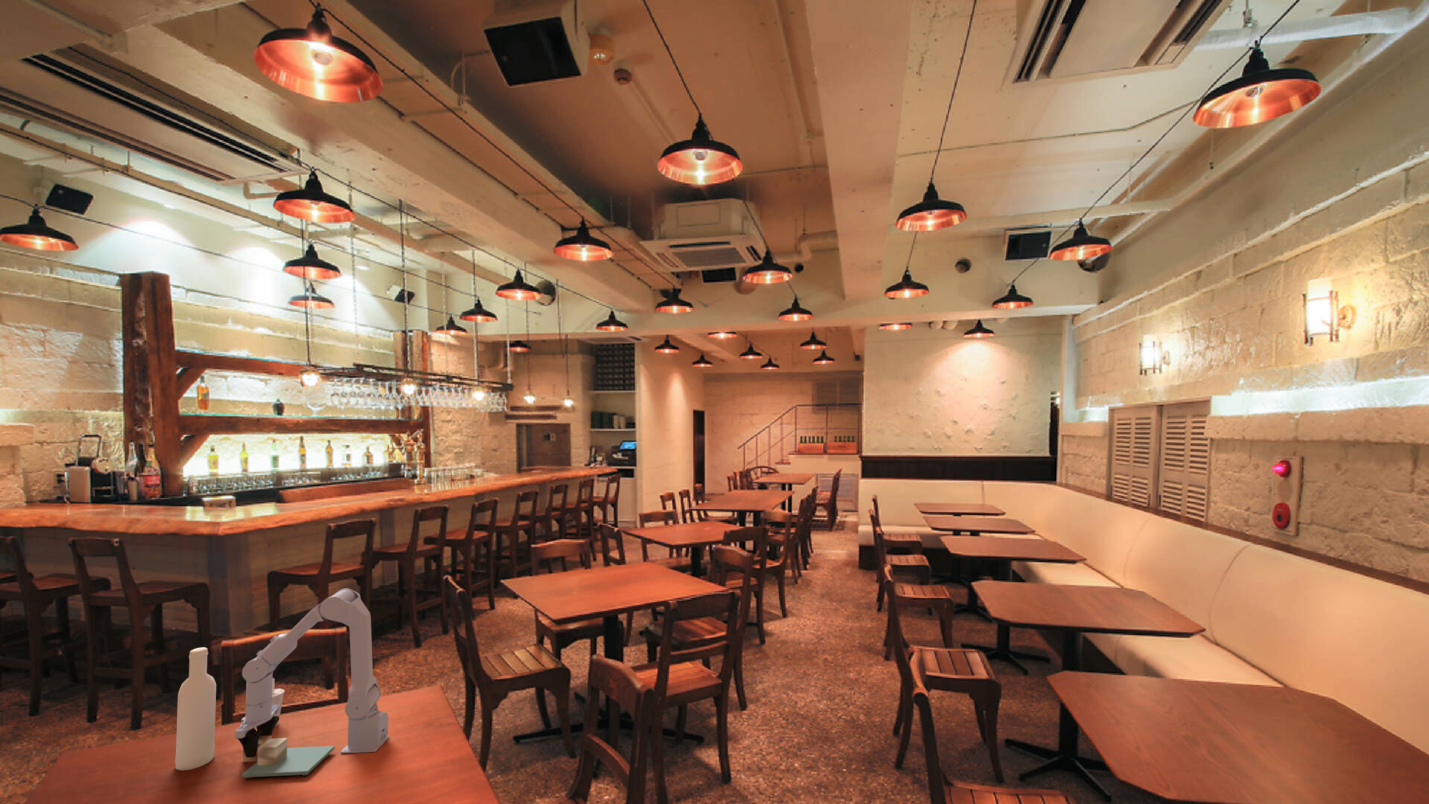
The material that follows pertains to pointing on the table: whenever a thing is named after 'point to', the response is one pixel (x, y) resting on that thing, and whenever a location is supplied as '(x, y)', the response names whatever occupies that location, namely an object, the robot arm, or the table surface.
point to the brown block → (260, 742)
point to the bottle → (196, 715)
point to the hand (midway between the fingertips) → (257, 751)
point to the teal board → (292, 762)
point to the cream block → (272, 751)
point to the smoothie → (277, 697)
